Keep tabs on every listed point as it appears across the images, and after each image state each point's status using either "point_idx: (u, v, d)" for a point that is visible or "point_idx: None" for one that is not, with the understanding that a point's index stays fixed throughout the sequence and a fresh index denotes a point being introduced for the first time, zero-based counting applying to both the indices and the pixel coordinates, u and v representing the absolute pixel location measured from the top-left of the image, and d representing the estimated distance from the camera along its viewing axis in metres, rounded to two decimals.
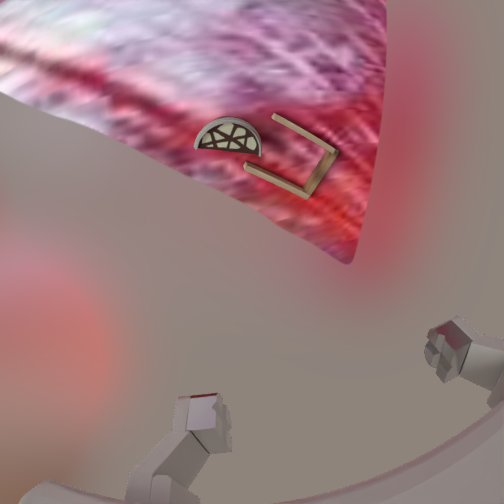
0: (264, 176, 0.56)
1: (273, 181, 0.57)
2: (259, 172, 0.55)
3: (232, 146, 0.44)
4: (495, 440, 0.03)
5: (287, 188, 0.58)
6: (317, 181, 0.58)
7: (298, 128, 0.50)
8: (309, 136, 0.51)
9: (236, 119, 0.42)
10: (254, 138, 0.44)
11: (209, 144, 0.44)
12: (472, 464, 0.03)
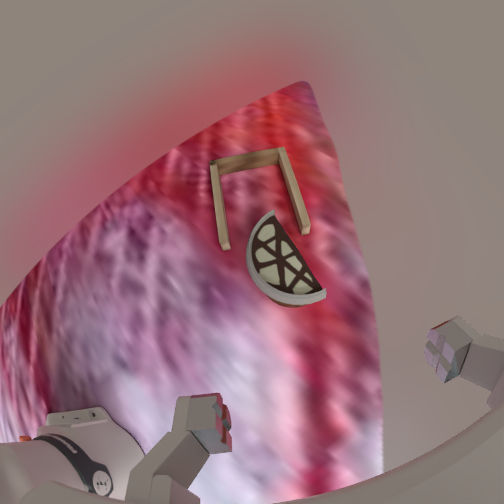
0: (299, 200, 0.41)
1: (296, 188, 0.41)
2: (299, 208, 0.40)
3: (287, 250, 0.31)
4: (495, 440, 0.03)
5: (290, 171, 0.43)
6: (257, 153, 0.45)
7: (217, 211, 0.41)
8: (217, 195, 0.42)
9: (250, 272, 0.31)
10: (257, 234, 0.32)
11: (307, 278, 0.29)
12: (472, 464, 0.03)
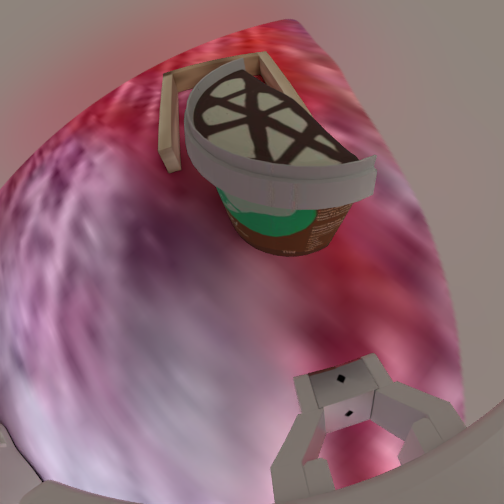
0: (290, 93, 0.23)
1: (285, 82, 0.24)
2: None
3: (271, 101, 0.12)
4: (495, 440, 0.03)
5: (276, 68, 0.25)
6: (228, 58, 0.27)
7: (162, 116, 0.23)
8: (166, 100, 0.24)
9: (189, 148, 0.12)
10: (211, 91, 0.14)
11: (323, 145, 0.11)
12: (472, 464, 0.03)
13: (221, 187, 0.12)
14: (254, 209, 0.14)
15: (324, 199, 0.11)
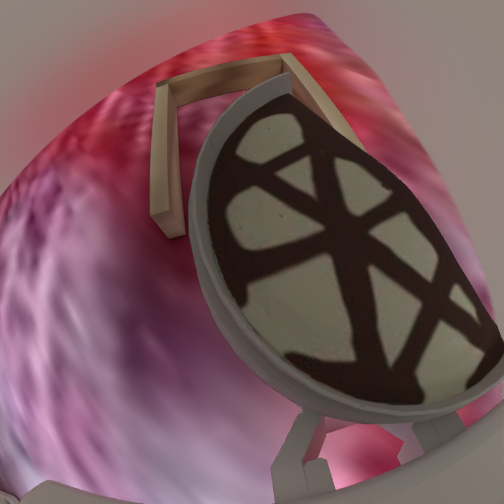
0: (337, 119, 0.16)
1: (326, 100, 0.17)
2: (341, 133, 0.16)
3: (369, 190, 0.06)
4: (495, 440, 0.03)
5: (309, 78, 0.19)
6: (242, 61, 0.21)
7: (155, 151, 0.17)
8: (159, 125, 0.18)
9: (207, 300, 0.06)
10: (236, 142, 0.08)
11: (462, 313, 0.05)
12: (473, 464, 0.03)
13: (279, 392, 0.06)
14: None
15: None
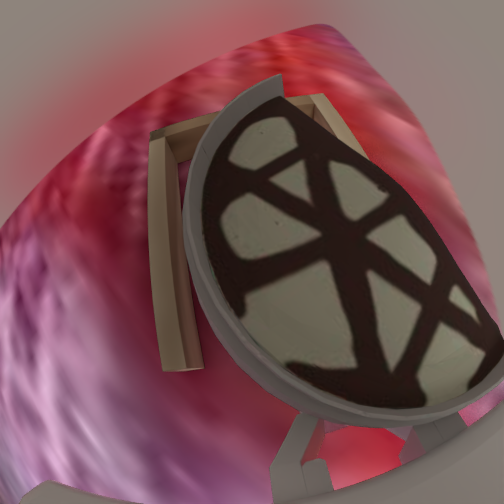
0: None
1: None
2: None
3: (365, 194, 0.06)
4: (495, 440, 0.03)
5: (353, 142, 0.15)
6: None
7: (155, 266, 0.13)
8: (157, 216, 0.14)
9: (205, 311, 0.06)
10: (229, 148, 0.08)
11: (462, 314, 0.05)
12: (472, 464, 0.03)
13: (281, 399, 0.06)
14: None
15: None
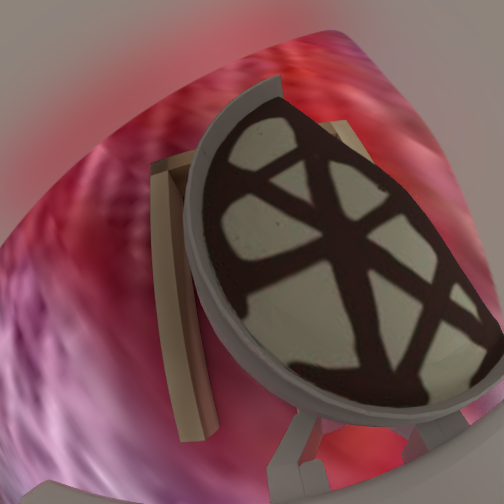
0: None
1: None
2: None
3: (365, 194, 0.06)
4: (495, 440, 0.03)
5: None
6: None
7: (165, 334, 0.12)
8: (164, 274, 0.13)
9: (207, 313, 0.06)
10: (228, 150, 0.08)
11: (463, 312, 0.05)
12: (472, 464, 0.03)
13: (284, 400, 0.06)
14: None
15: None
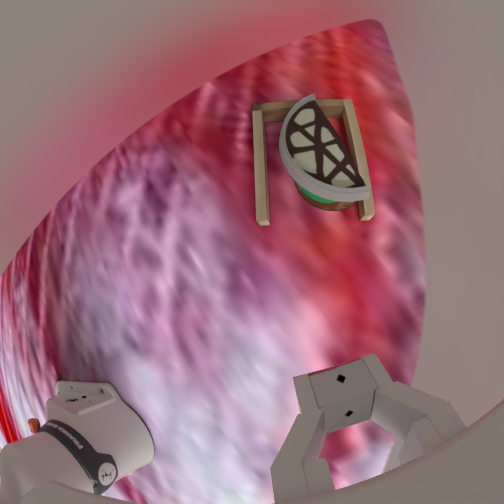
0: (364, 177, 0.28)
1: (362, 159, 0.29)
2: None
3: (328, 137, 0.23)
4: (495, 440, 0.03)
5: (357, 133, 0.29)
6: None
7: (257, 176, 0.31)
8: (259, 153, 0.31)
9: (283, 157, 0.25)
10: (294, 117, 0.24)
11: (349, 171, 0.23)
12: (472, 464, 0.03)
13: (298, 182, 0.25)
14: None
15: (344, 198, 0.23)
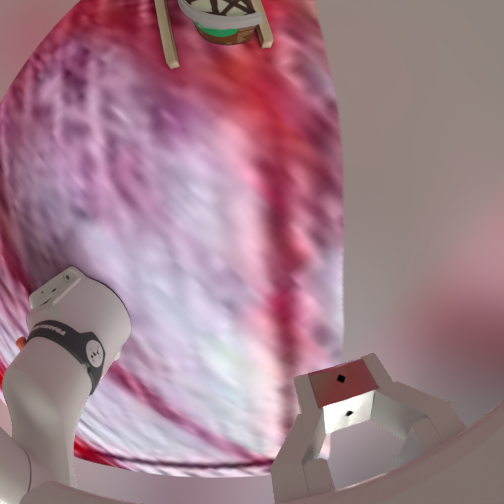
0: None
1: (257, 1, 0.23)
2: None
3: None
4: (495, 440, 0.03)
5: None
6: None
7: (162, 30, 0.24)
8: (161, 14, 0.23)
9: (182, 7, 0.19)
10: None
11: (241, 5, 0.19)
12: (472, 464, 0.03)
13: (197, 21, 0.20)
14: (211, 27, 0.22)
15: (239, 25, 0.20)
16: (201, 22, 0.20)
